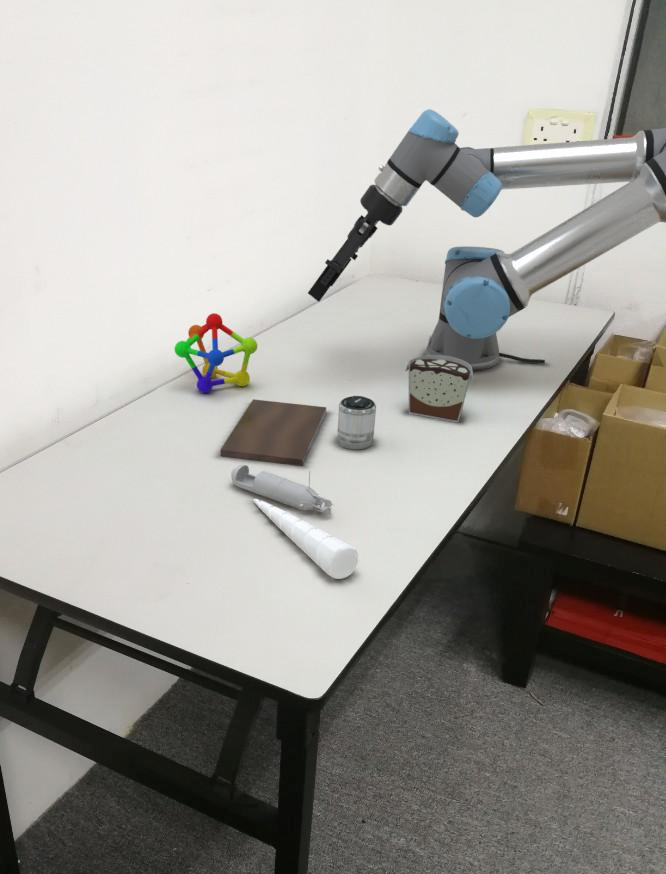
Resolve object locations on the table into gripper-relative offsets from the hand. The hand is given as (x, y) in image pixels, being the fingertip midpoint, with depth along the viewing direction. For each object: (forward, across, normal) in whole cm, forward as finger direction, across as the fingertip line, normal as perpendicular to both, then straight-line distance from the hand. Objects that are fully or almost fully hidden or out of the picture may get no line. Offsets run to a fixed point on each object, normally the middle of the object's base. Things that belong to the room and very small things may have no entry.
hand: (320, 289), depth 168 cm
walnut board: (+16, +30, +9) cm, 36 cm away
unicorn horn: (+12, +64, +20) cm, 68 cm away
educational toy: (+24, +14, -5) cm, 28 cm away
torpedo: (+14, +53, +15) cm, 57 cm away
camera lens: (+9, +30, +21) cm, 38 cm away
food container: (+1, +13, +31) cm, 34 cm away
